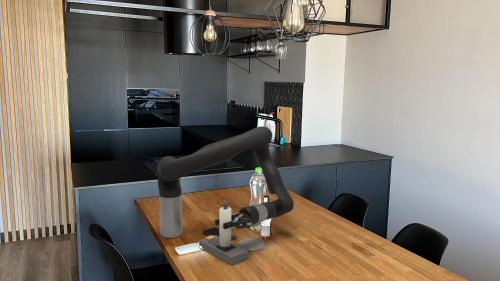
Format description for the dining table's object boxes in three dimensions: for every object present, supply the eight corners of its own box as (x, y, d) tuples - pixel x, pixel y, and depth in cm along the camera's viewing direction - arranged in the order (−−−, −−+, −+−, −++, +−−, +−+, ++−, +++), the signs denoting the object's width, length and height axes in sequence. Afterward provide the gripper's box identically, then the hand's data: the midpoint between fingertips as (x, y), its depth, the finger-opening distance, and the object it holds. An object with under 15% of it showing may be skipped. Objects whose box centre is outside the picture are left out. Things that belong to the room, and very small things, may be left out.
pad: (232, 244, 159) (232, 243, 159) (252, 237, 166) (252, 235, 166) (250, 253, 151) (250, 252, 151) (271, 245, 158) (271, 244, 158)
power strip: (199, 247, 156) (199, 238, 155) (215, 241, 161) (215, 233, 161) (231, 265, 141) (231, 255, 141) (248, 258, 147) (248, 249, 146)
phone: (215, 226, 175) (237, 236, 164) (215, 229, 176) (237, 239, 165) (201, 231, 170) (222, 242, 159) (201, 234, 170) (222, 244, 159)
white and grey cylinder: (216, 244, 149) (217, 200, 146) (226, 241, 152) (226, 198, 149) (224, 248, 146) (224, 203, 143) (233, 244, 149) (233, 201, 146)
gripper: (241, 201, 162) (207, 209, 150) (266, 210, 151) (231, 220, 140) (241, 218, 163) (207, 228, 151) (266, 228, 152) (231, 240, 141)
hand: (219, 224), depth 146 cm, fingers closed on white and grey cylinder, 4 cm apart
